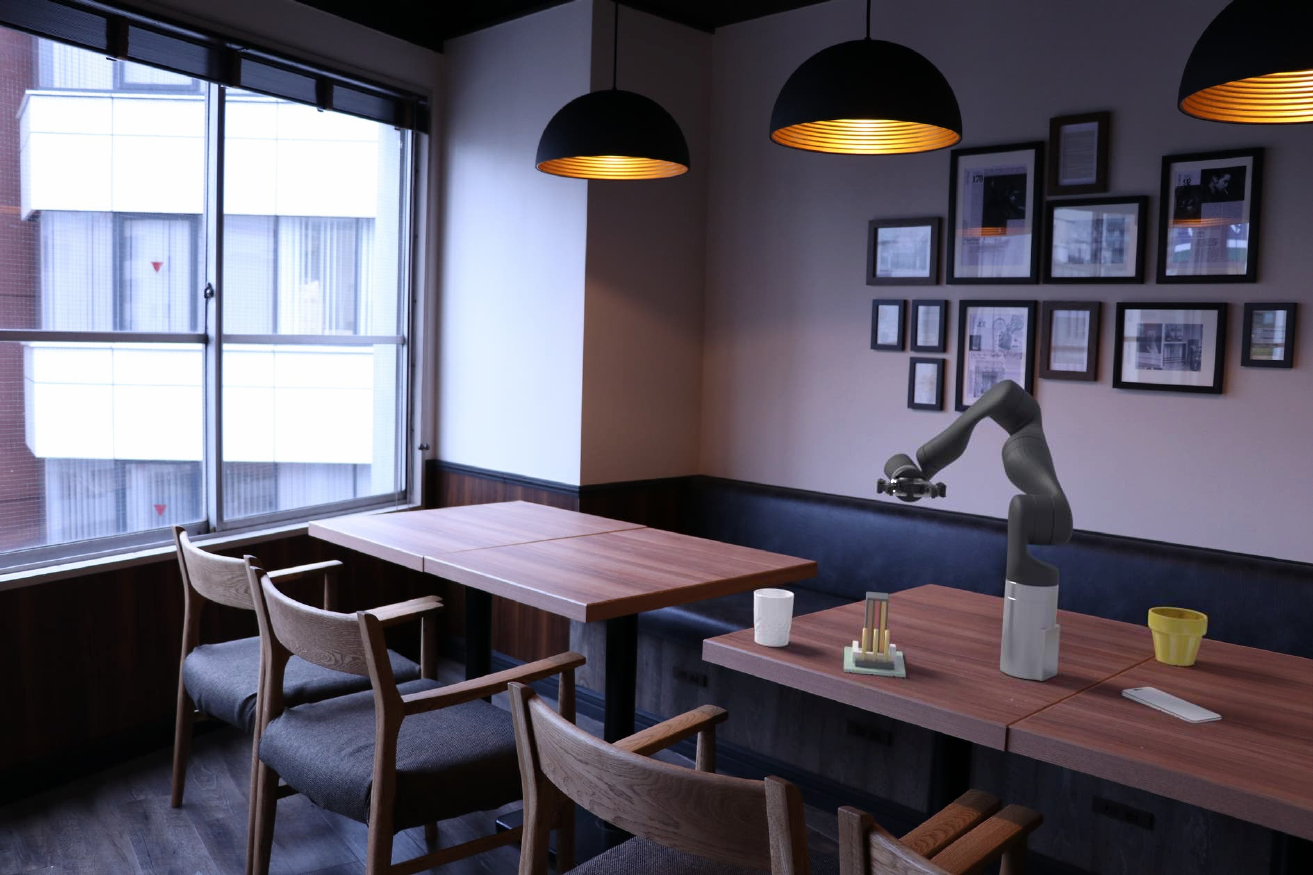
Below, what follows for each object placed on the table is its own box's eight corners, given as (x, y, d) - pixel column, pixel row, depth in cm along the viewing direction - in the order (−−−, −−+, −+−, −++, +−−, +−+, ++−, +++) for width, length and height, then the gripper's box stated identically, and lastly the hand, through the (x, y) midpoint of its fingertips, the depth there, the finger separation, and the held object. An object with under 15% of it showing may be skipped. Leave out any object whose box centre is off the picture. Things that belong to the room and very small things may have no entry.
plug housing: (863, 653, 199) (866, 591, 198) (884, 654, 198) (887, 593, 197) (863, 660, 194) (866, 597, 193) (885, 662, 193) (888, 599, 193)
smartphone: (1193, 721, 168) (1119, 689, 182) (1192, 728, 168) (1118, 696, 182) (1224, 716, 171) (1149, 685, 185) (1224, 723, 171) (1149, 692, 185)
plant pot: (1143, 663, 202) (1147, 614, 201) (1146, 650, 211) (1150, 603, 210) (1203, 672, 197) (1208, 622, 196) (1203, 659, 206) (1207, 611, 206)
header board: (844, 649, 203) (846, 611, 203) (901, 654, 201) (904, 616, 201) (843, 671, 189) (845, 630, 188) (905, 677, 187) (908, 636, 186)
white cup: (778, 650, 201) (781, 599, 200) (744, 642, 206) (746, 592, 205) (798, 642, 207) (801, 593, 206) (764, 634, 212) (767, 586, 211)
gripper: (876, 464, 231) (878, 472, 215) (942, 468, 228) (949, 476, 212) (875, 497, 231) (876, 507, 216) (940, 502, 229) (947, 512, 213)
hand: (912, 492), depth 214 cm, fingers open, 8 cm apart
